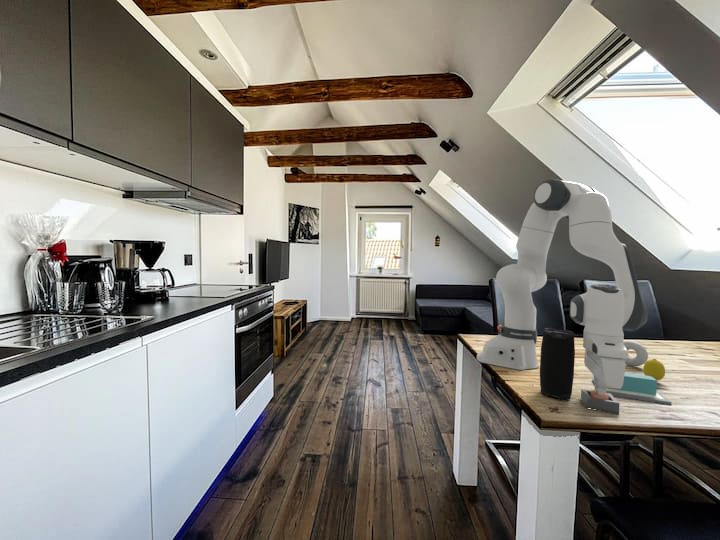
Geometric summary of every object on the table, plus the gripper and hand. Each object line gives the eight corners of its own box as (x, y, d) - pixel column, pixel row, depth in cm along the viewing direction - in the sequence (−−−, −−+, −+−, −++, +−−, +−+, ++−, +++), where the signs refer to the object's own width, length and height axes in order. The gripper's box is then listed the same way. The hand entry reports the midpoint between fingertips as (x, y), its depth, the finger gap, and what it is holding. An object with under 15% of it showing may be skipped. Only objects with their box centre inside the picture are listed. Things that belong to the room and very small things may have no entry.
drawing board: (603, 394, 98) (603, 391, 98) (592, 381, 109) (592, 378, 109) (671, 404, 92) (671, 401, 92) (652, 389, 103) (652, 387, 103)
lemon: (668, 385, 107) (670, 361, 107) (649, 383, 108) (650, 360, 108) (657, 379, 113) (658, 357, 112) (638, 378, 114) (640, 355, 114)
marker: (607, 388, 101) (608, 373, 101) (603, 383, 104) (604, 370, 104) (656, 395, 96) (657, 380, 96) (650, 390, 100) (651, 376, 100)
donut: (649, 369, 124) (650, 343, 124) (645, 370, 123) (646, 344, 123) (618, 361, 133) (619, 337, 133) (614, 362, 132) (615, 338, 131)
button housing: (587, 408, 87) (587, 398, 87) (580, 399, 94) (581, 388, 94) (619, 414, 85) (619, 403, 84) (609, 403, 91) (610, 393, 91)
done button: (592, 405, 88) (593, 394, 88) (588, 399, 92) (588, 389, 92) (610, 408, 86) (610, 397, 86) (605, 402, 90) (606, 391, 90)
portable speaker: (571, 393, 97) (575, 329, 97) (572, 405, 89) (576, 335, 89) (539, 387, 102) (542, 326, 101) (537, 397, 94) (541, 330, 93)
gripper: (579, 334, 99) (577, 378, 100) (600, 351, 81) (597, 405, 81) (604, 337, 97) (601, 382, 97) (631, 354, 78) (628, 410, 78)
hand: (599, 393), depth 89 cm, fingers closed, pressing on done button
